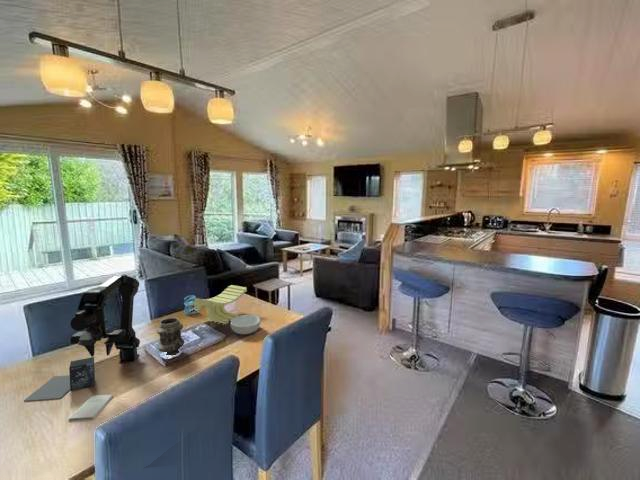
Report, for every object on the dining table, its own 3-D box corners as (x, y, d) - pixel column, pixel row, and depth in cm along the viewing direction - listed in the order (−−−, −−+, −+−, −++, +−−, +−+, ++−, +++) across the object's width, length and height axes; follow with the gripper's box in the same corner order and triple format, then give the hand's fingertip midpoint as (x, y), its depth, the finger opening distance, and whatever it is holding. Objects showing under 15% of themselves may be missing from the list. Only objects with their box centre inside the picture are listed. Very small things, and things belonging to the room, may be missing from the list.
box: (70, 391, 123) (68, 367, 122) (72, 384, 128) (70, 360, 126) (94, 386, 128) (93, 362, 126) (95, 378, 132) (94, 356, 131)
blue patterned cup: (182, 313, 206) (181, 296, 204) (195, 309, 212) (193, 293, 210) (186, 316, 201) (185, 299, 199) (199, 313, 206) (198, 296, 204)
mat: (86, 375, 135) (86, 374, 135) (60, 398, 120) (60, 397, 120) (54, 377, 134) (53, 376, 134) (23, 401, 118) (23, 400, 118)
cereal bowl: (224, 335, 174) (224, 323, 173) (242, 323, 190) (242, 313, 189) (249, 340, 168) (249, 328, 167) (265, 328, 183) (265, 317, 182)
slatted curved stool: (229, 308, 214) (228, 284, 211) (247, 312, 207) (246, 287, 205) (195, 325, 187) (193, 297, 185) (214, 330, 180) (213, 301, 178)
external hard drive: (69, 422, 108) (91, 399, 120) (93, 420, 109) (113, 397, 121) (68, 418, 108) (90, 395, 120) (93, 416, 109) (112, 394, 121)
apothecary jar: (176, 346, 161) (174, 313, 159) (189, 353, 154) (187, 319, 152) (153, 355, 152) (150, 321, 149) (166, 363, 145) (163, 327, 142)
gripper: (57, 329, 116) (62, 367, 118) (110, 327, 118) (114, 364, 120) (76, 318, 126) (81, 353, 129) (124, 316, 129) (128, 350, 131)
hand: (100, 355), depth 127 cm, fingers open, 6 cm apart
